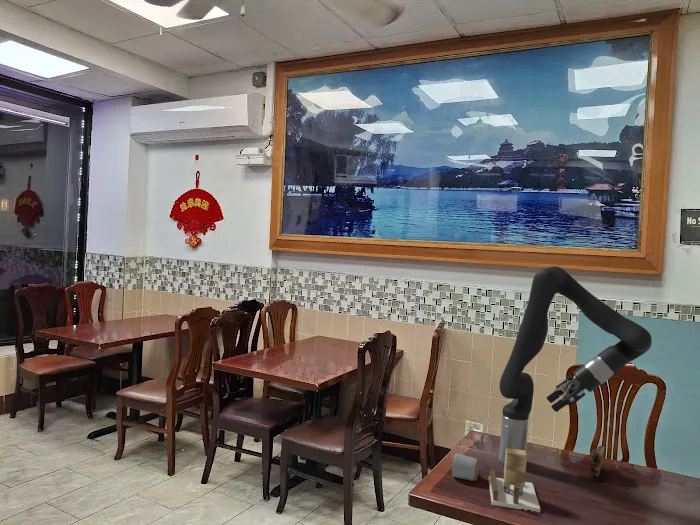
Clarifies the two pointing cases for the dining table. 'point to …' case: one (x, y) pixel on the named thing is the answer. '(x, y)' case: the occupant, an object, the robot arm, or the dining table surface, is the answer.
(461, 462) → the ceramic mug
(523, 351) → the robot arm
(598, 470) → the wooden carving
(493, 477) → the walnut frame
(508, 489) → the pegs
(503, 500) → the peg stand
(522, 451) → the oak block
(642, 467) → the dining table surface
